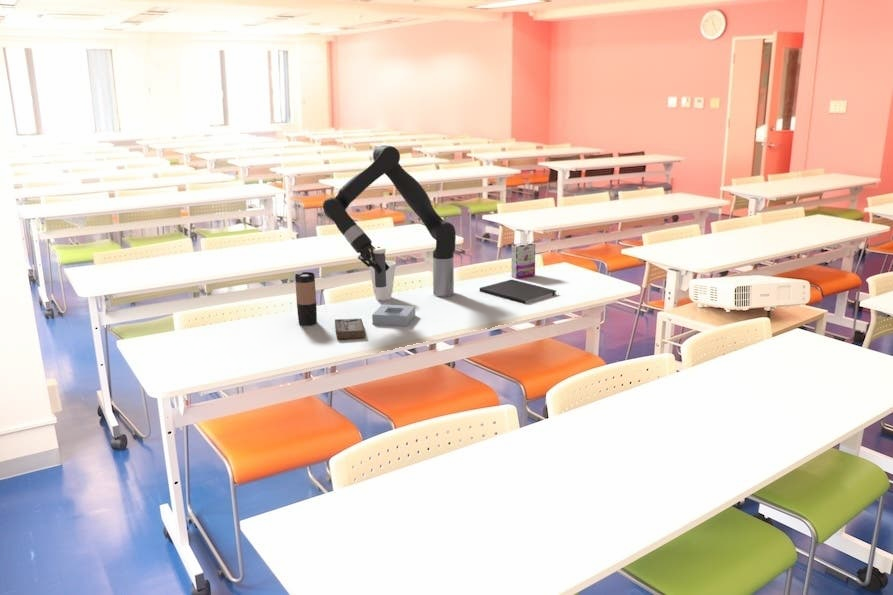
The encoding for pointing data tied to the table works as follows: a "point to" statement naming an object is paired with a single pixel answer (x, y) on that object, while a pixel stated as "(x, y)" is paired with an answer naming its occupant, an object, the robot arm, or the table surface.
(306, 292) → the travel mug
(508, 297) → the notebook
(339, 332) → the box
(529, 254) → the candy bar box
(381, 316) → the socket
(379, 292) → the cup
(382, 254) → the plug
